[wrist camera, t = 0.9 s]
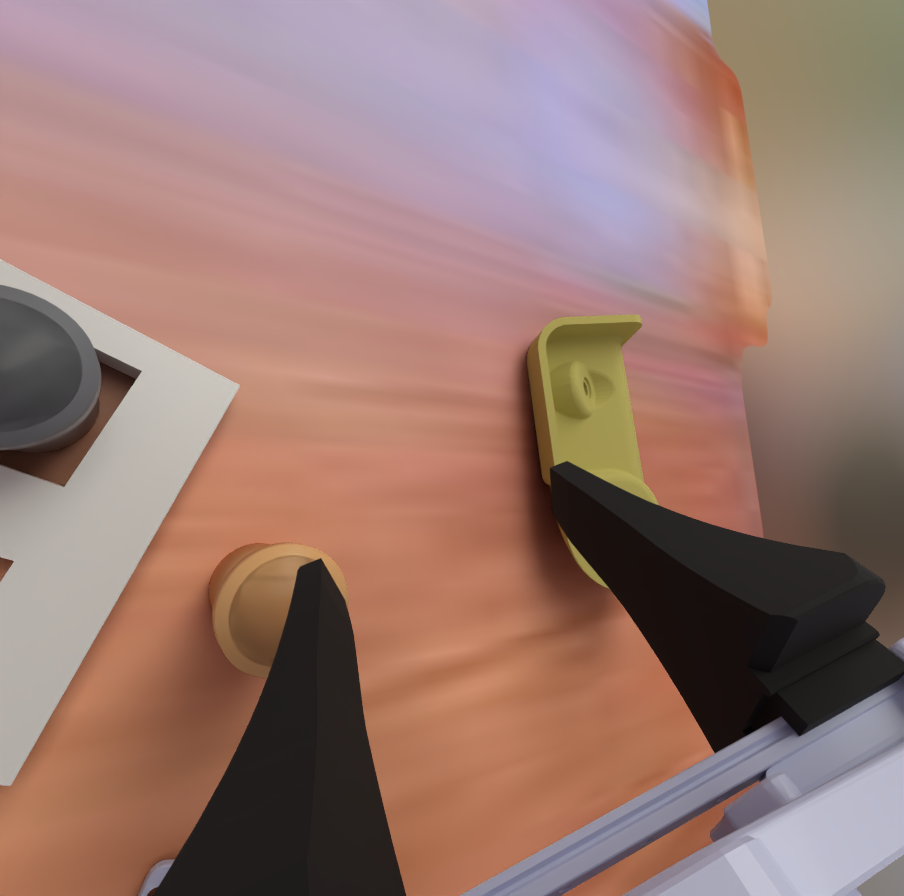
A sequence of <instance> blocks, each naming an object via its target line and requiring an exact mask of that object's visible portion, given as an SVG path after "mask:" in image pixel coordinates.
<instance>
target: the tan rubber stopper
mask: <svg viewBox="0 0 904 896" xmlns="http://www.w3.org/2000/svg"><path fill="white" fill-rule="evenodd" d="M320 558H321V559H322V560H323V562H324V564H325V566H326V567H327V569H328V571H329V573H330V574H331V576H332V578H333V580H334V581H335V583H336V585H337V587H338V588H339V590H340V592H341V593H342V595H343V597H344V599H345V601H346V605H347V609H348V589H347V584H346V581H345V578H344V576H343V574H342V572H341V570H340V568H339V567H338V565H337V564H336V563H335V562H334V561H333V560H332V559H331V558H330V557H329V556H328V555H326V554H325V553H323V552H322V551H320V550H317V549H315V548H312V547H309V546H306V545H302V544H297V543H276V544H272V545H270V544H264V543H255V544H249V545H245V546H242V547H240V548H238V549H236V550H234V551H233V552H231V553H229V554H228V555H227V556H226V557H225V558H224V559H223V560H222V561H221V562H220V563H219V564H218V566H217V567H216V569H215V570H214V572H213V574H212V577H211V580H210V583H209V601H210V604H211V607H212V609H213V610H212V624H213V631H214V634H215V637H216V639H217V641H218V643H219V645H220V647H221V649H222V651H223V653H224V655H225V656H226V657H227V659H228V660H229V661H230V662H231V663H232V664H233V665H234V666H235V667H236V668H238V669H239V670H241V671H242V672H245V673H247V674H249V675H252V676H255V677H260V678H268V675H269V672H270V669H271V666H272V663H273V660H274V657H275V654H276V652H277V649H278V646H279V642H280V639H281V636H282V632H283V629H284V625H285V622H286V618H287V615H288V611H289V607H290V603H291V599H292V594H293V590H294V585H295V581H296V576H297V571H298V569H299V567H300V566H302V565H305V564H307V563H310V562H312V561H315V560H317V559H320Z"/></svg>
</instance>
